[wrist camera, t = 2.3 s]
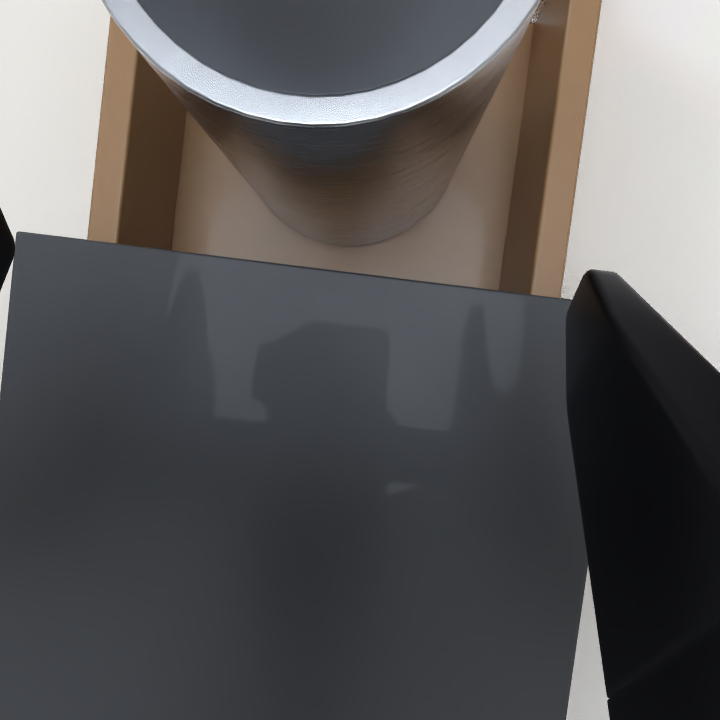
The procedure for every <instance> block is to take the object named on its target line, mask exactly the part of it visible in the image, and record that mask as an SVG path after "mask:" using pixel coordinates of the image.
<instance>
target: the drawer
mask: <svg viewBox="0 0 720 720" xmlns="http://www.w3.org/2000/svg"><path fill="white" fill-rule="evenodd" d="M541 1H546V3H545V4H544V6H543V8H542V10H541V12H540V14H539V16H538V18H537V20H536V22H535V23H529V25H528V27H527V29H526V31H525V33H524V35H523V37H522V39H521V41H520V43H519V45H518V47H517V49H516V51H515V53H514V55H513V57H512V59H511V61H510V63H509V65H508V67H507V69H506V71H505V73H504V75H503V77H502V79H501V81H500V83H499V85H498V87H497V89H496V91H495V93H494V95H493V97H492V99H491V101H490V103H489V105H488V107H487V109H486V111H485V113H484V115H483V117H482V119H481V121H480V123H479V125H478V127H477V129H476V131H475V133H474V135H473V137H472V139H471V141H470V143H469V145H468V147H467V149H466V151H465V153H464V155H463V157H462V159H461V161H460V163H459V165H458V167H457V169H456V171H455V173H454V175H453V177H452V179H451V181H450V183H449V185H448V187H447V188H446V190H445V192H444V194H443V196H442V197H441V198H440V200H439V201H438V203H437V204H436V205H435V207H434V208H433V209H432V210H431V211H430V212H429V213H428V214H427V215H426V216H425V217H424V218H423V219H422V220H421V221H419V222H418V223H417V224H416V225H414V226H413V227H412V228H410V229H408V230H407V231H405V232H403V233H402V234H400V235H398V236H395V237H393V238H391V239H389V240H386V241H382V242H379V243H376V244H370V245H364V246H337V245H330V244H326V243H322V242H318V241H315V240H313V239H310V238H308V237H305V236H303V235H301V234H300V233H298V232H296V231H294V230H292V229H291V228H290V227H288V226H287V225H286V224H284V223H283V222H282V221H280V220H279V219H278V218H277V217H276V216H275V215H274V214H273V213H272V212H271V211H270V210H269V208H268V207H267V206H266V205H265V204H264V202H263V201H262V200H261V199H260V197H259V196H258V195H257V194H256V193H255V191H254V190H253V189H252V188H251V187H250V185H249V184H248V183H247V182H246V181H245V179H244V178H243V177H242V176H241V174H240V173H239V172H238V171H237V170H236V168H235V167H234V166H233V165H232V164H231V162H230V161H229V160H228V159H227V158H226V156H225V155H224V154H223V153H222V151H221V150H220V149H219V148H218V147H217V145H216V144H215V143H214V142H213V141H212V139H211V138H210V137H209V136H208V135H207V133H206V132H205V131H204V130H203V128H202V127H201V126H200V125H199V124H198V122H197V121H196V120H195V119H194V118H193V116H192V115H191V114H190V113H189V112H188V110H187V109H186V108H185V107H184V105H183V104H182V103H181V102H180V101H179V99H178V98H177V97H176V96H175V95H174V93H173V92H172V91H171V90H170V89H169V87H168V86H167V85H166V84H165V82H164V81H163V80H162V79H161V78H160V76H159V75H158V74H157V73H156V72H155V70H154V69H153V68H152V67H151V66H150V64H149V63H148V62H147V61H146V59H145V58H144V57H143V56H142V55H141V53H140V52H139V51H138V50H137V49H136V47H135V46H134V45H133V44H132V42H131V41H130V40H129V39H128V37H127V36H126V35H125V34H124V33H123V31H122V30H121V29H120V28H119V26H118V25H117V24H116V23H115V21H114V19H113V18H112V16H111V17H110V27H109V36H108V46H107V56H106V65H105V75H104V84H103V94H102V104H101V113H100V123H99V132H98V142H97V152H96V161H95V171H94V180H93V190H92V200H91V209H90V219H89V228H88V238H87V240H92V241H100V242H108V243H116V244H125V245H133V246H141V247H149V248H157V249H165V250H173V251H181V252H190V253H198V254H206V255H214V256H222V257H230V258H238V259H246V260H255V261H263V262H271V263H279V264H287V265H295V266H303V267H312V268H320V269H328V270H336V271H344V272H352V273H360V274H368V275H377V276H385V277H393V278H401V279H409V280H417V281H425V282H433V283H442V284H450V285H458V286H466V287H474V288H482V289H490V290H498V291H507V292H515V293H523V294H531V295H539V296H547V297H555V298H561V290H562V283H563V276H564V269H565V262H566V254H567V247H568V240H569V233H570V225H571V218H572V211H573V204H574V197H575V189H576V182H577V175H578V168H579V160H580V153H581V146H582V139H583V132H584V124H585V117H586V110H587V103H588V95H589V88H590V81H591V74H592V67H593V59H594V52H595V45H596V38H597V30H598V23H599V16H600V9H601V2H602V0H541Z"/></svg>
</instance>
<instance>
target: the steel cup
mask: <svg viewBox="0 0 720 720" xmlns="http://www.w3.org/2000/svg"><path fill="white" fill-rule="evenodd" d="M540 1H541V0H102V2H103V3H104V5H105V6H106V8H107V10H108V11H109V13H110V15H111V16H112V18H113V19H114V21H115V23H116V24H117V25H118V26H119V28H120V29H121V30H122V31H123V33H124V34H125V35H126V36H127V37H128V39H129V40H130V41H131V42H132V44H133V45H134V46H135V47H136V49H137V50H138V51H139V52H140V53H141V55H142V56H143V57H144V58H145V59H146V61H147V62H148V63H149V64H150V66H151V67H152V68H153V69H154V70H155V72H156V73H157V74H158V75H159V76H160V78H161V79H162V80H163V81H164V82H165V84H166V85H167V86H168V87H169V89H170V90H171V91H172V92H173V93H174V95H175V96H176V97H177V98H178V99H179V101H180V102H181V103H182V104H183V105H184V107H185V108H186V109H187V110H188V112H189V113H190V114H191V115H192V116H193V118H194V119H195V120H196V121H197V122H198V124H199V125H200V126H201V127H202V128H203V130H204V131H205V132H206V133H207V135H208V136H209V137H210V138H211V139H212V141H213V142H214V143H215V144H216V145H217V147H218V148H219V149H220V150H221V151H222V153H223V154H224V155H225V156H226V158H227V159H228V160H229V161H230V162H231V164H232V165H233V166H234V167H235V168H236V170H237V171H238V172H239V173H240V174H241V176H242V177H243V178H244V179H245V181H246V182H247V183H248V184H249V185H250V187H251V188H252V189H253V190H254V191H255V193H256V194H257V195H258V196H259V197H260V199H261V200H262V201H263V202H264V204H265V205H266V206H267V207H268V208H269V210H270V211H271V212H272V213H273V214H274V215H275V216H276V217H277V218H278V219H279V220H280V221H282V222H283V223H284V224H286V225H287V226H288V227H290V228H291V229H292V230H294V231H296V232H298V233H300V234H301V235H303V236H305V237H308V238H310V239H313V240H315V241H318V242H322V243H326V244H330V245H337V246H364V245H370V244H376V243H379V242H382V241H386V240H389V239H391V238H393V237H395V236H398V235H400V234H402V233H403V232H405V231H407V230H408V229H410V228H412V227H413V226H414V225H416V224H417V223H418V222H419V221H421V220H422V219H423V218H424V217H425V216H426V215H427V214H428V213H429V212H430V211H431V210H432V209H433V208H434V207H435V205H436V204H437V203H438V201H439V200H440V198H441V197H442V196H443V194H444V192H445V190H446V188H447V187H448V185H449V183H450V181H451V179H452V177H453V175H454V173H455V171H456V169H457V167H458V165H459V163H460V161H461V159H462V157H463V155H464V153H465V151H466V149H467V147H468V145H469V143H470V141H471V139H472V137H473V135H474V133H475V131H476V129H477V127H478V125H479V123H480V121H481V119H482V117H483V115H484V113H485V111H486V109H487V107H488V105H489V103H490V101H491V99H492V97H493V95H494V93H495V91H496V89H497V87H498V85H499V83H500V81H501V79H502V77H503V75H504V73H505V71H506V69H507V67H508V65H509V63H510V61H511V59H512V57H513V55H514V53H515V51H516V49H517V47H518V45H519V43H520V41H521V39H522V37H523V35H524V33H525V31H526V29H527V27H528V25H529V23H530V21H531V19H532V17H533V15H534V13H535V11H536V9H537V7H538V5H539V3H540Z"/></svg>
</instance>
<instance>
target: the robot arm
mask: <svg viewBox="0 0 720 720" xmlns="http://www.w3.org/2000/svg"><path fill="white" fill-rule="evenodd" d="M14 254H15V243H14V239H13V236H12V234H11V232H10V229H9V227H8V225H7V222H6V220H5V218H4V215H3V213H2V211H1V208H0V291H1V288H2V285H3V283H4V280H5V278H6V275H7V273H8V270H9V268H10V265H11V263H12V260H13V258H14ZM565 328H566V405H567V416H568V424H569V431H570V438H571V445H572V453H573V460H574V467H575V474H576V481H577V488H578V495H579V502H580V509H581V516H582V523H583V530H584V537H585V545H586V552H587V559H588V566H589V573H590V580H591V587H592V594H593V601H594V608H595V615H596V622H597V629H598V637H599V644H600V651H601V658H602V665H603V672H604V679H605V686H606V693H607V697H608V698H610V699H608V701H607V703H608V710H609V717H610V720H720V372H719V371H718V370H717V369H716V368H715V367H714V366H712V365H711V364H710V363H709V362H708V361H707V360H706V359H705V358H704V357H703V356H702V355H701V354H700V353H699V352H698V351H697V350H696V349H695V348H694V347H693V346H692V345H691V344H690V343H689V342H688V341H687V340H686V339H685V338H683V337H682V336H681V335H680V334H679V333H678V332H677V331H676V330H675V329H674V328H673V327H672V326H671V325H670V324H669V323H668V322H667V321H666V320H665V319H664V318H663V317H662V316H661V315H660V314H659V313H658V312H657V311H655V310H654V309H653V308H652V307H651V306H650V305H649V304H648V303H647V302H646V301H645V300H644V299H643V298H642V297H641V296H640V295H639V294H638V293H637V292H636V291H635V290H634V289H633V288H632V287H631V286H630V285H629V284H627V283H626V282H625V281H624V280H623V279H622V278H621V277H620V276H619V275H618V274H617V273H615V272H609V271H601V270H589V271H587V272H586V273H585V274H584V276H583V278H582V280H581V282H580V284H579V286H578V289H577V291H576V293H575V295H574V298H573V300H572V302H571V304H570V307H569V309H568V312H567V316H566V325H565Z"/></svg>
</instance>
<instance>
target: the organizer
mask: <svg viewBox="0 0 720 720" xmlns="http://www.w3.org/2000/svg"><path fill="white" fill-rule="evenodd" d="M571 302H572V299H563V298H555V297H547V296H539V295H531V294H523V293H515V292H507V291H498V290H490V289H482V288H474V287H466V286H458V285H450V284H442V283H433V282H425V281H417V280H409V279H401V278H393V277H385V276H377V275H368V274H360V273H352V272H344V271H336V270H328V269H320V268H312V267H303V266H295V265H287V264H279V263H271V262H263V261H255V260H246V259H238V258H230V257H222V256H214V255H206V254H198V253H190V252H181V251H173V250H165V249H157V248H149V247H141V246H133V245H125V244H116V243H108V242H100V241H92V240H84V239H76V238H68V237H60V236H51V235H43V234H35V233H27V232H17V233H16V241H15V254H14V261H13V271H12V281H11V292H10V302H9V312H8V322H7V332H6V342H5V352H4V362H3V372H2V382H1V393H0V720H566V714H567V707H568V700H569V693H570V686H571V679H572V672H573V665H574V658H575V651H576V644H577V637H578V630H579V623H580V616H581V609H582V602H583V595H584V588H585V581H586V574H587V567H588V559H587V552H586V545H585V537H584V530H583V523H582V516H581V509H580V502H579V495H578V488H577V481H576V474H575V467H574V460H573V453H572V445H571V438H570V431H569V424H568V416H567V405H566V328H565V325H566V316H567V312H568V309H569V307H570V304H571Z"/></svg>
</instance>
